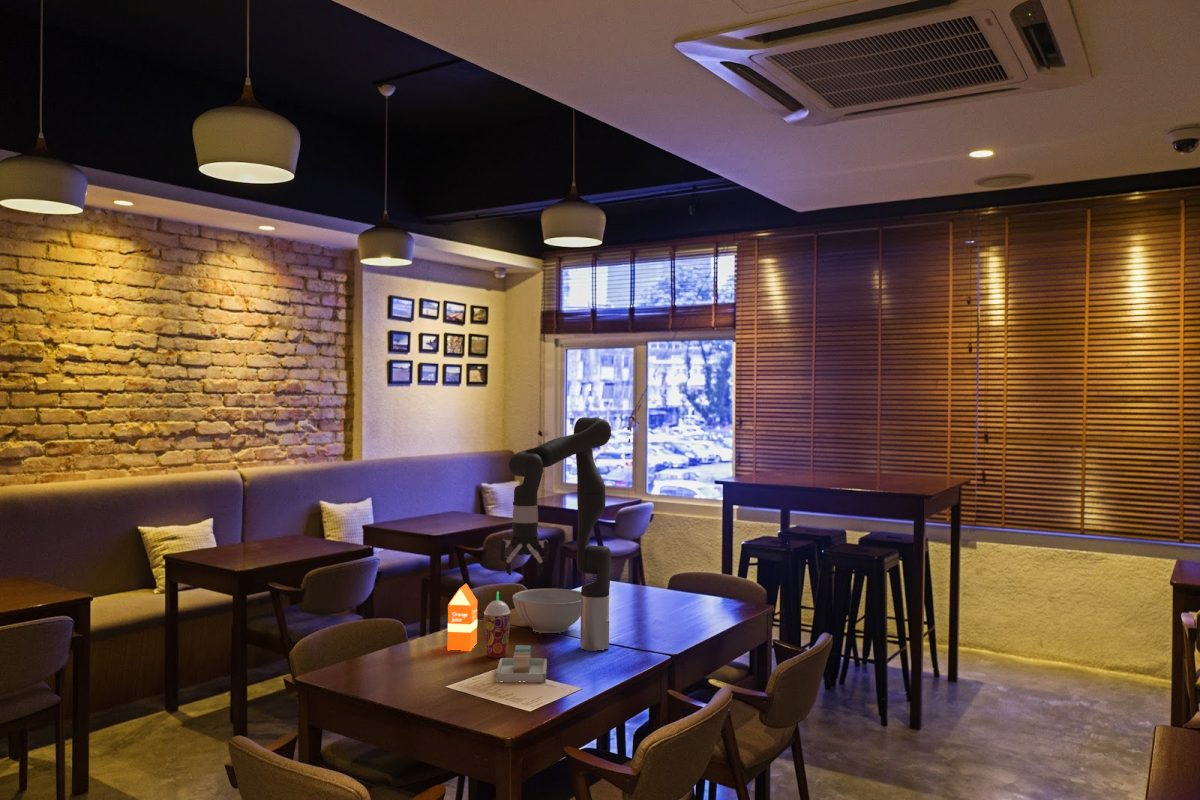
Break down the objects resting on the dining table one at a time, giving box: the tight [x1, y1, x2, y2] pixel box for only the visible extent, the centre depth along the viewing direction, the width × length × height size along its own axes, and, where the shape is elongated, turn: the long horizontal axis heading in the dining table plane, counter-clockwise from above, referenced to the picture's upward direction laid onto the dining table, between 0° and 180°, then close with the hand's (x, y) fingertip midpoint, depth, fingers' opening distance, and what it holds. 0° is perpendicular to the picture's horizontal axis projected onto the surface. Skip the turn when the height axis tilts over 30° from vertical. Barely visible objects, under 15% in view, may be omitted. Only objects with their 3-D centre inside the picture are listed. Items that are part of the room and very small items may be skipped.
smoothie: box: [483, 591, 512, 659], centre depth 276 cm, size 8×8×20 cm
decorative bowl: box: [512, 588, 581, 634], centre depth 311 cm, size 27×27×12 cm
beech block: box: [513, 651, 530, 673], centre depth 253 cm, size 4×4×6 cm
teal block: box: [514, 644, 532, 667], centre depth 261 cm, size 4×4×6 cm
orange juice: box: [446, 583, 479, 652], centre depth 286 cm, size 8×9×20 cm
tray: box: [495, 657, 548, 683], centre depth 257 cm, size 14×16×2 cm
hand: (524, 575), depth 261 cm, fingers open, 8 cm apart
